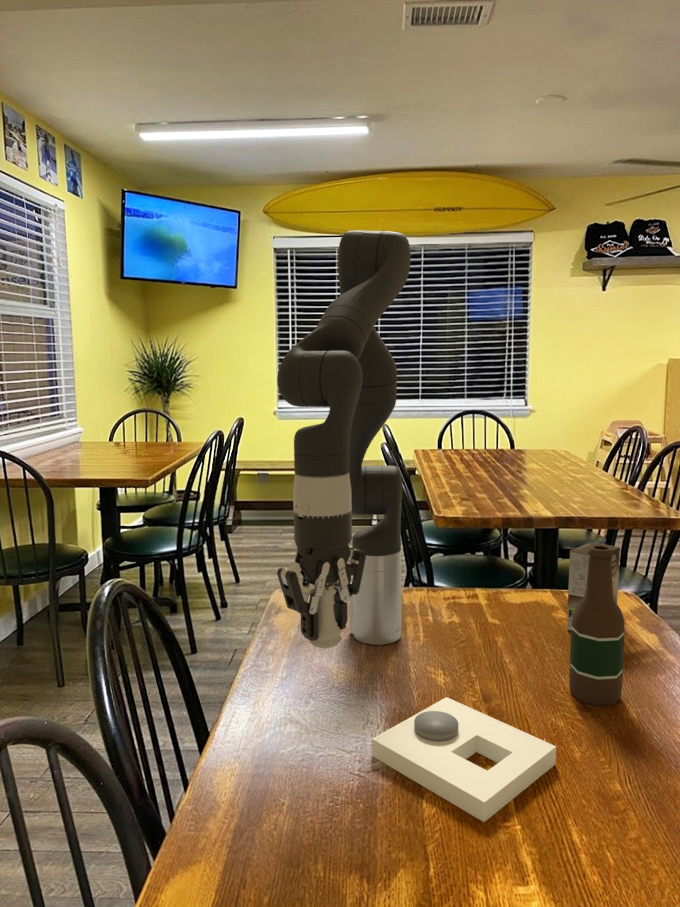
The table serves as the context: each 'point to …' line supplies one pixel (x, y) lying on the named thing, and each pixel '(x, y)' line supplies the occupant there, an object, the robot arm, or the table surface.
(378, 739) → the carrier plate
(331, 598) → the rook chess piece
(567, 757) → the table surface
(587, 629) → the beer bottle
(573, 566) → the coffee box
